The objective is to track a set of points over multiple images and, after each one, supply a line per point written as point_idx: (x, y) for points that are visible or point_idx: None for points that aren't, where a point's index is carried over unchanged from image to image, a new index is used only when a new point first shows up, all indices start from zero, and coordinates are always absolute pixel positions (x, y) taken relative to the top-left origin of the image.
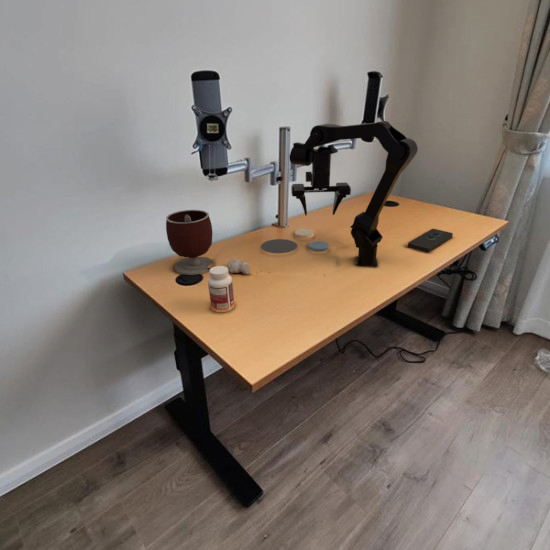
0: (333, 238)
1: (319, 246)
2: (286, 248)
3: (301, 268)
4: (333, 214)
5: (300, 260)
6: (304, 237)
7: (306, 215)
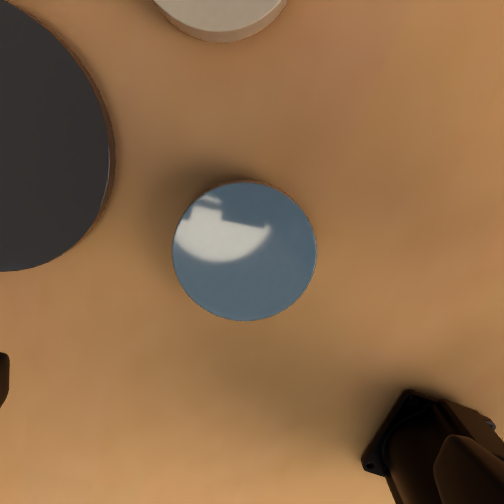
0: (434, 56)
1: (239, 285)
2: (25, 208)
3: (95, 420)
4: (439, 483)
5: (106, 340)
6: (195, 33)
7: (3, 401)
